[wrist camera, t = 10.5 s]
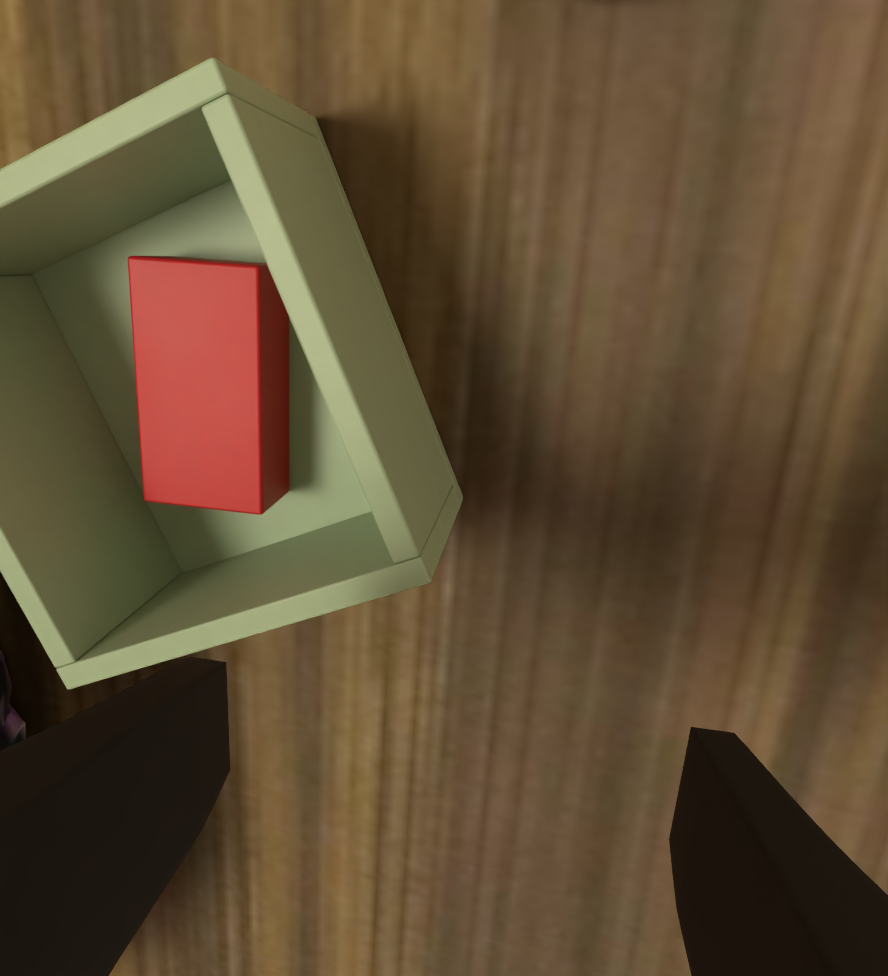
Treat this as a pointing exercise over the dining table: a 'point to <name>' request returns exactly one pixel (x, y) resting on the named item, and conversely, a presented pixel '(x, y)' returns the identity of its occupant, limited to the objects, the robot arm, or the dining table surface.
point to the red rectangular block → (210, 382)
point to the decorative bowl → (8, 712)
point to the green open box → (113, 399)
